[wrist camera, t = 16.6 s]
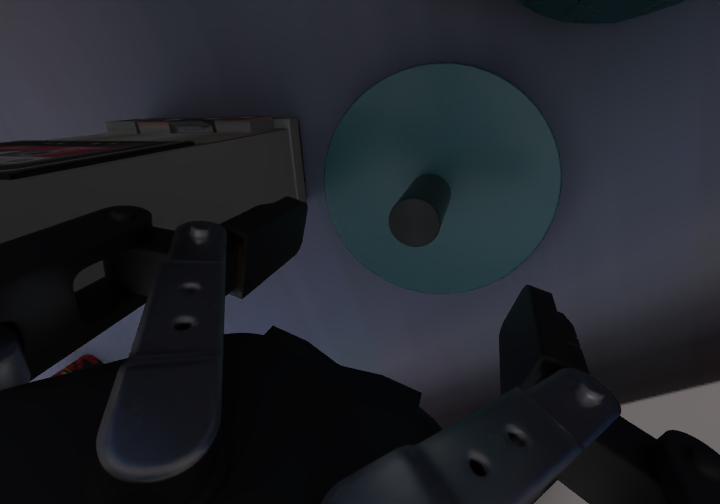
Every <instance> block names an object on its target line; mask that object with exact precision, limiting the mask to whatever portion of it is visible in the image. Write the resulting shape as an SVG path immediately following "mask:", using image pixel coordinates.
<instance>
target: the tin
mask: <svg viewBox="0 0 720 504" xmlns="http://www.w3.org/2000/svg"><path fill="white" fill-rule="evenodd" d="M518 1H519V2H521V3H522V4H523V5H525V6H526V7H528V8H530V9H532V10H534V11H536V12H537V13H539V14H541V15H544V16H547V17H550V18H553V19H556V20H560V21H566V22H572V23H587V24H599V23H615V22H620V21H623V20H627V19H630V18H634V17H638V16H642V15H645V14H648V13H650V12H653V11H656V10H659V9H663V8H666V7H669V6H672V5H676V4H678V3H681V2H683V1H685V0H518Z"/></svg>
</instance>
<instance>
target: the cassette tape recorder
mask: <svg viewBox="0 0 720 504" xmlns="http://www.w3.org/2000/svg"><path fill="white" fill-rule="evenodd" d="M105 123H106V126H107V129H108V132H109V133H105V134H97V135H88V136H79V137H70V138H62V139H53V140H44V141H12V142H3V143H0V244H1V243H4V242H7V241H9V240H12V239H15V238H18V237H21V236H24V235H27V234H30V233H33V232H36V231H39V230H42V229H45V228H48V227H51V226H54V225H57V224H59V223H62V222H65V221H68V220H71V219H74V218H77V217H80V216H83V215H86V214H89V213H92V212H95V211H98V210H101V209H104V208H107V207H112V206H121V205H127V206H136V207H141V208H144V209H146V210H148V211H149V212H150V213H151V214H152V223H153V227H159V228H164V229H169V230H174V231H175V229H176V228H177V227H178V226H179V225H181V224H183V223H186V222H191V221H208V222H213V223H216V224H220V223H222V222H225V221H227V220H229V219H231V218H233V217H235V216H237V215H241V213H243V212H245V211H248V210H249V209H251V208H253V207H255V206H257V205H262V204H268V203H274V202H276V201H278V200H280V199H282V198H284V197H286V196H289V197H292V198H295V199H298V200H300V201H303V202H306V193H305V184H304V175H303V165H302V156H301V146H300V137H299V128H298V118H276V119H272V116H246V117H226V118H198V119H166V118H163V119H134V120H122V121H110V122H105ZM104 276H105V273H104V267H103V261H99V262H97V263H95V264H93V265H91V266H89V267H87V268H85V269H83V270H82V271H80V272H79V273H78V275H77V276H76V277H75V279H74V282H73V289H74V292H76V291H78V290H80V289H82V288H84V287H85V286H87V285H89V284H91V283H93V282H95V281H97V280H99V279H101V278H102V277H104Z"/></svg>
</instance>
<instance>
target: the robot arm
mask: <svg viewBox="0 0 720 504" xmlns="http://www.w3.org/2000/svg"><path fill="white" fill-rule="evenodd" d="M307 210H308V206H307V203H306V202H303V201H300V200H298V199H295V198H292V197H289V196H286V197H284V198H282V199H280V200H278V201H276V202H274V203H268V204H262V205H257V206H255V207H253V208H251V209H249V210H248V211H245V212H243V213H241V215H237V216H235V217H233V218H231V219H229V220H227V221H225V222H222V223H220V224H216V223H213V222H208V221H191V222H186V223H183V224H181V225H179V226H178V227H177V228H176V229H175V231H174V230H169V229H164V228H159V227H153V223H152V214H151V213H150V212H149V211H148V210H146V209H144V208H141V207H136V206H127V205H121V206H112V207H107V208H104V209H101V210H98V211H95V212H92V213H89V214H86V215H83V216H80V217H77V218H74V219H71V220H68V221H65V222H62V223H59V224H57V225H54V226H51V227H48V228H45V229H42V230H39V231H36V232H33V233H30V234H27V235H24V236H21V237H18V238H15V239H12V240H9V241H7V242H4V243H1V244H0V504H534V502H536V501H537V500H538V499H539V498H540V497H541V496H542V494H544V493H545V492H546V491H547V490H548V489H549V488H550V487H551V486H552V485H553V484H554V483H555V482H556V481H557V480H559V481H560V482H561V483H563V484H564V485H565V486H567V487H568V488H569V489H571V490H572V491H573V492H574V493H576V494H577V495H578V496H580V497H581V498H582V499H584V500H585V501H586V502H587V503H589V504H720V455H719V454H718V453H717V452H715V451H714V450H713V449H711V448H710V447H709V446H708V445H706V444H705V443H703V442H701V441H700V440H698V439H696V438H695V437H692V436H691V435H688V434H686V433H684V432H681V431H677V430H669V431H666V432H665V433H664V434H663V435H662V436H660V437H659V438H658V439H655V438H654V437H652V436H651V435H649V434H647V433H646V432H644V431H643V430H641V429H639V428H638V427H636V426H635V425H633V424H632V423H630V422H628V421H627V420H625V419H624V418H622V417H621V416H620V414H621V406H620V404H619V402H618V400H617V398H616V397H615V395H614V394H613V393H612V392H611V391H610V390H609V389H608V388H607V387H606V386H605V385H604V384H603V383H602V382H600V381H599V380H598V379H596V378H595V377H593V376H591V375H590V373H589V370H588V367H587V364H586V362H585V359H584V356H583V353H582V350H581V349H580V344H579V341H578V339H577V335H576V332H575V330H574V327H573V325H572V324H571V323H570V321H569V320H568V319H567V318H566V317H565V315H564V314H563V313H560V312H558V311H557V310H556V306H555V303H554V299H553V296H552V294H551V293H549V292H546V291H544V290H541V289H538V288H535V287H533V286H530V285H526V286H525V287H524V288H523V289H522V291H521V292H520V294H519V296H518V298H517V299H516V301H515V303H514V305H513V306H512V308H511V310H510V312H509V313H508V315H507V317H506V319H505V320H504V322H503V325H502V327H501V330H500V335H499V353H500V390H501V396H499V397H497V398H496V399H494V400H492V401H490V402H489V403H487V404H485V405H484V406H482V407H480V408H478V409H477V410H475V411H473V412H472V413H470V414H468V415H467V416H465V417H463V418H461V419H460V420H458V421H456V422H455V423H453V424H451V425H450V426H448V427H446V428H444V429H442V428H441V427H440V425H439V424H438V423H437V422H436V421H435V420H434V419H433V418H432V417H431V416H430V415H429V414H428V413H426V412H425V411H424V410H423V409H422V408H420V407H419V403H420V398H421V394H422V393H420V392H418V391H416V390H414V389H412V388H409V387H407V386H405V385H403V384H401V383H398V382H396V381H394V380H392V379H390V378H387V377H385V376H383V375H379V374H375V373H370V372H366V371H361V370H357V369H353V368H348V367H344V366H341V365H339V364H337V363H336V362H334V361H333V360H332V359H330V358H329V357H328V356H326V355H325V354H324V353H322V352H321V351H320V350H318V349H317V348H316V347H314V346H313V345H312V344H310V343H309V342H308V341H306V340H303V339H301V338H299V337H297V336H295V335H292V334H290V333H288V332H286V331H284V330H281V329H279V328H277V327H275V326H272V327H271V328H270V329H269V330H268V331H267V332H266V334H265V335H260V334H253V333H231V334H224V311H225V296H226V295H227V294H231V295H233V296H236V297H238V298H240V299H243V298H244V297H245V296H247V295H248V294H249V293H250V292H251V291H253V290H254V289H255V288H256V287H257V286H259V285H260V284H261V283H262V282H263V281H265V280H266V279H267V278H268V277H269V276H271V275H272V274H273V273H274V272H275V271H277V270H278V269H279V268H280V267H281V266H283V265H284V264H285V263H286V262H287V261H289V260H290V259H291V258H292V257H293V256H295V255H296V253H297V252H298V250H299V249H300V246H301V244H302V240H303V234H304V228H305V222H306V216H307ZM99 261H103V267H104V273H105V276H104V277H102V278H101V279H99V280H97V281H95V282H93V283H91V284H89V285H87V286H85V287H84V288H82V289H80V290H78V291H76V292H74V289H73V282H74V279H75V277H76V276H77V275H78V273H79V272H80V271H82V270H83V269H85V268H87V267H89V266H91V265H93V264H95V263H97V262H99ZM145 303H146V304H145ZM143 304H145V307H144V311H143V314H142V317H141V320H140V323H139V327H138V330H137V333H136V336H135V339H134V343H133V346H132V349H131V352H130V355H129V357H128V358H126V359H122V360H118V361H114V362H110V363H106V364H102V365H98V366H94V367H90V368H86V369H82V370H78V371H74V372H70V373H66V374H62V375H58V376H54V377H50V378H46V379H42V380H38V381H34V382H30V381H31V380H33V379H34V378H35V377H37V376H38V375H40V374H41V373H43V372H44V371H46V370H47V369H49V368H50V367H52V366H53V365H55V364H56V363H58V362H59V361H61V360H62V359H64V358H65V357H67V356H68V355H69V354H71V353H72V352H74V351H75V350H77V349H78V348H80V347H81V346H83V345H84V344H86V343H87V342H89V341H90V340H92V339H93V338H95V337H96V336H98V335H99V334H100V333H102V332H103V331H105V330H106V329H108V328H109V327H111V326H112V325H114V324H115V323H117V322H118V321H120V320H121V319H123V318H124V317H126V316H127V315H129V314H130V313H132V312H133V311H134V310H136V309H137V308H139V307H140V306H142V305H143ZM29 382H30V383H29Z"/></svg>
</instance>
